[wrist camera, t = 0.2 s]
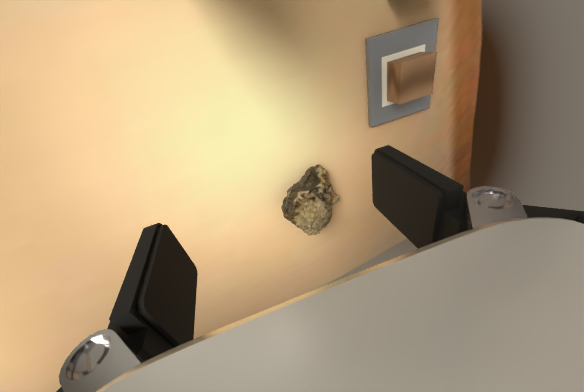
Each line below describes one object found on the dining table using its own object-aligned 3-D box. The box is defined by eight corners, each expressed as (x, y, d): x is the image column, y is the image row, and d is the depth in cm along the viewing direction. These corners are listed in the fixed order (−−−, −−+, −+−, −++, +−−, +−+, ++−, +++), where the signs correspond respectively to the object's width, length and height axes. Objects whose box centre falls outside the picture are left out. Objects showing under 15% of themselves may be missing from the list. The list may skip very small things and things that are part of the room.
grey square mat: (365, 38, 42) (368, 38, 41) (434, 18, 44) (439, 17, 43) (368, 125, 51) (371, 127, 50) (426, 106, 53) (430, 107, 52)
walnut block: (386, 62, 44) (401, 63, 41) (420, 51, 45) (436, 52, 42) (386, 100, 48) (399, 104, 45) (417, 90, 49) (432, 93, 46)
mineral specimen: (345, 196, 60) (366, 219, 52) (305, 228, 61) (319, 255, 53) (314, 156, 52) (333, 176, 43) (269, 194, 53) (279, 220, 45)
